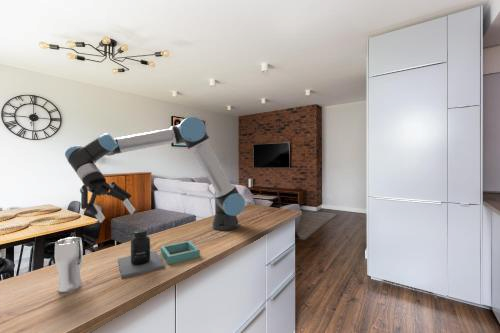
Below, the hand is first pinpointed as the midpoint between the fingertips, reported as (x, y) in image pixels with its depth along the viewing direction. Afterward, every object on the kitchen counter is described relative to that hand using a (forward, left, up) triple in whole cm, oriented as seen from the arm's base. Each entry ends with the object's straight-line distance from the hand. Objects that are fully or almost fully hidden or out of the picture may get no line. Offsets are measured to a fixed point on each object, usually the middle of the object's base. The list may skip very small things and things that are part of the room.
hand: (119, 216), depth 93 cm
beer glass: (+15, +14, -18) cm, 27 cm away
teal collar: (-21, +9, -18) cm, 29 cm away
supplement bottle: (-6, +9, -17) cm, 20 cm away
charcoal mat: (-6, +9, -18) cm, 21 cm away
